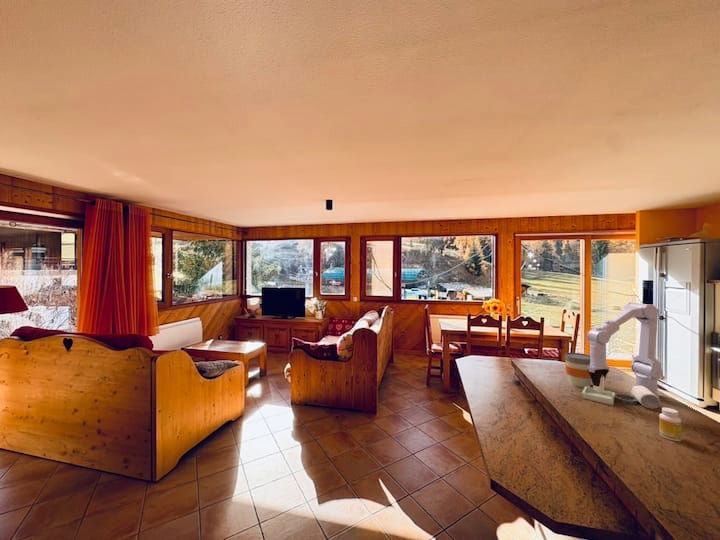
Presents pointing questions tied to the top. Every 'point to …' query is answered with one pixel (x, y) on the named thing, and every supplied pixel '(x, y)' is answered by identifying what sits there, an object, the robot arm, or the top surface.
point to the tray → (598, 396)
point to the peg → (601, 386)
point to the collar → (631, 400)
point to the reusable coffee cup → (578, 369)
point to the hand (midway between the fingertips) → (598, 384)
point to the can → (645, 397)
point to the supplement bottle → (670, 424)
